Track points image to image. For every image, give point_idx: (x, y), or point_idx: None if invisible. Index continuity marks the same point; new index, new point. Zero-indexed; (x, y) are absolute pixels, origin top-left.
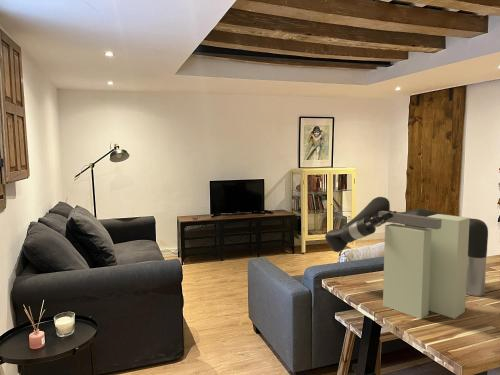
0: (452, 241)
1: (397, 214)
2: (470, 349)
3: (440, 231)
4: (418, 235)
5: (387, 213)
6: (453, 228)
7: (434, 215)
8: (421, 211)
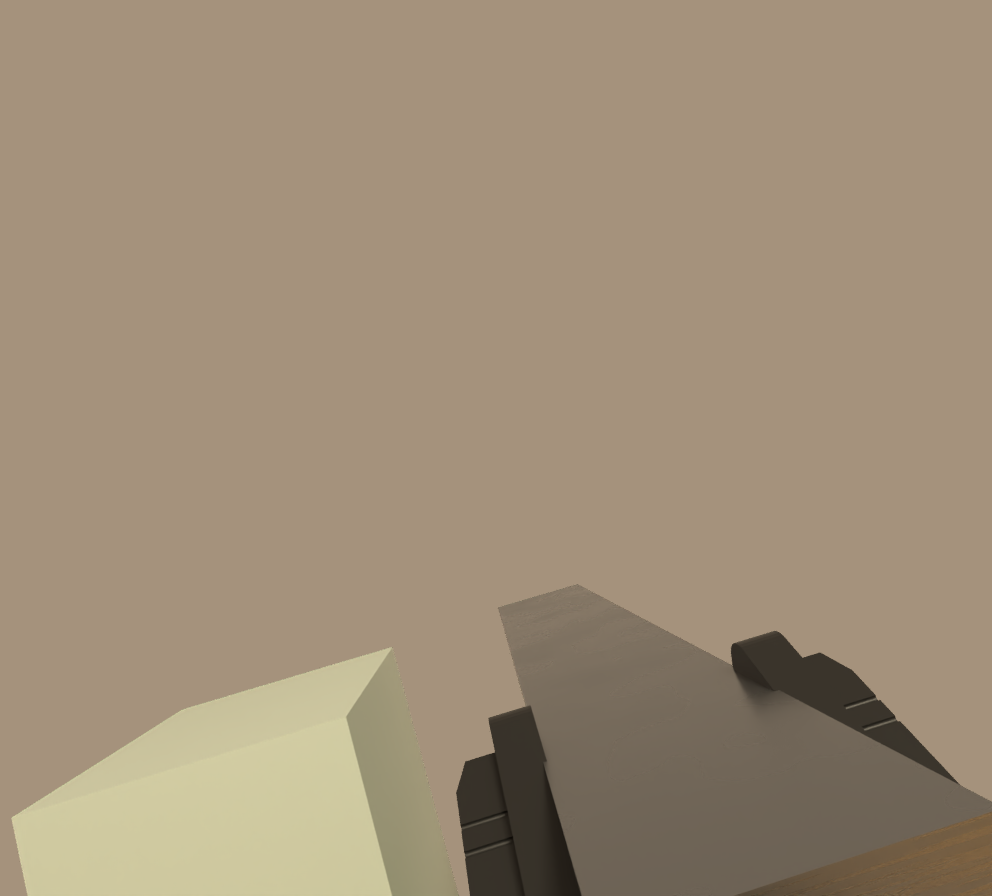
0: (436, 841)
1: (688, 644)
2: None
3: (408, 810)
4: None
5: (811, 679)
6: (406, 724)
7: (186, 759)
8: None
